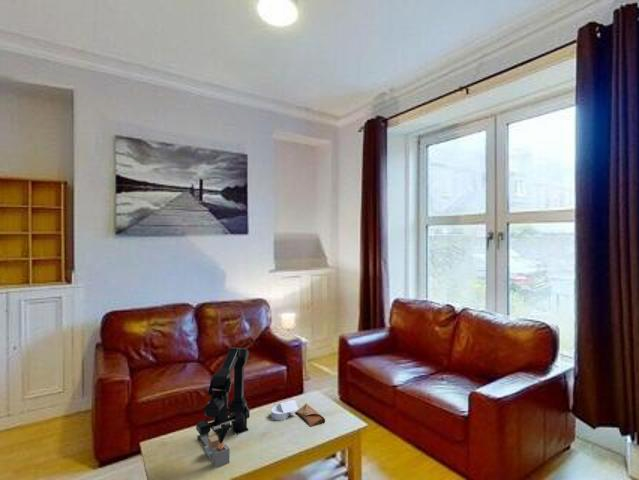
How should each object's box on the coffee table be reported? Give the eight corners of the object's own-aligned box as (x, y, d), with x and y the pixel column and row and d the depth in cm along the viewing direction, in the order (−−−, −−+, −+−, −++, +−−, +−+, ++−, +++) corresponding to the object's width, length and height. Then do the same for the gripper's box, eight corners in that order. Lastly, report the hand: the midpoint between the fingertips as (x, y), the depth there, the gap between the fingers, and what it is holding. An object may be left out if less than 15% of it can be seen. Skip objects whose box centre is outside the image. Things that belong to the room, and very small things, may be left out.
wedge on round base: (291, 408, 201) (268, 414, 195) (291, 396, 201) (268, 401, 194) (298, 415, 193) (275, 422, 187) (298, 403, 193) (275, 408, 187)
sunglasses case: (293, 412, 197) (298, 399, 198) (302, 415, 200) (308, 403, 202) (311, 427, 182) (317, 414, 183) (321, 431, 185) (327, 418, 187)
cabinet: (225, 457, 157) (225, 443, 157) (229, 462, 154) (229, 448, 153) (211, 463, 153) (211, 448, 153) (215, 468, 150) (215, 453, 150)
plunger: (222, 447, 155) (222, 440, 155) (224, 450, 153) (224, 443, 153) (217, 449, 154) (217, 442, 153) (219, 452, 152) (219, 444, 152)
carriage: (219, 447, 163) (219, 432, 163) (224, 454, 159) (224, 439, 158) (204, 452, 160) (204, 437, 159) (209, 460, 155) (209, 444, 155)
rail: (207, 436, 173) (207, 432, 173) (223, 457, 157) (223, 452, 157) (197, 439, 170) (197, 435, 170) (212, 461, 154) (212, 457, 154)
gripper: (234, 392, 165) (234, 427, 165) (191, 403, 154) (191, 440, 154) (245, 402, 156) (244, 438, 156) (200, 414, 145) (200, 454, 145)
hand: (220, 442), depth 153 cm, fingers closed
